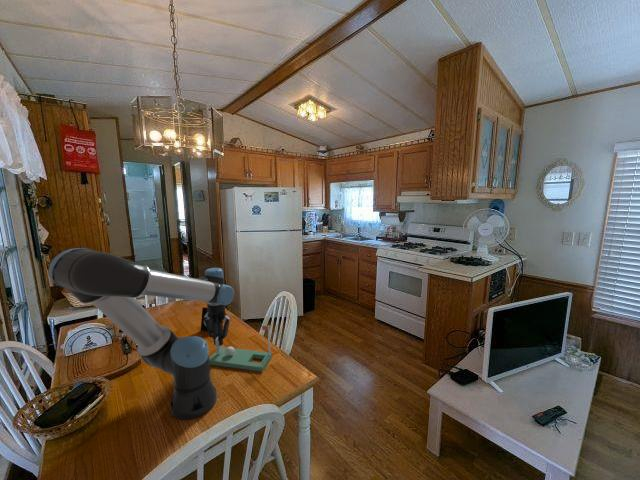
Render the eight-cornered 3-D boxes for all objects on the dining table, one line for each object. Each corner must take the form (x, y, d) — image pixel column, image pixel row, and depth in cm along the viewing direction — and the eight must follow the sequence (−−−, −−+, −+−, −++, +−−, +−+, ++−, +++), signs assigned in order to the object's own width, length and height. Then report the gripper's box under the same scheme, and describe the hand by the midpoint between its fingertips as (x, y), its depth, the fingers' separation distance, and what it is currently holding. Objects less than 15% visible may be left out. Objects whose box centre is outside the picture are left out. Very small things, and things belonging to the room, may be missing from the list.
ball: (232, 358, 122) (231, 350, 121) (223, 357, 123) (223, 349, 122) (236, 353, 126) (236, 345, 125) (228, 352, 127) (228, 344, 126)
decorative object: (207, 328, 158) (223, 329, 157) (197, 332, 147) (215, 333, 146) (209, 305, 159) (225, 306, 158) (199, 308, 149) (217, 308, 148)
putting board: (262, 371, 116) (261, 336, 113) (207, 364, 121) (205, 330, 118) (272, 356, 126) (271, 324, 124) (221, 350, 131) (219, 319, 129)
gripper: (233, 300, 124) (236, 348, 127) (207, 298, 126) (210, 345, 130) (225, 307, 116) (228, 357, 120) (197, 304, 119) (201, 354, 122)
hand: (219, 351), depth 125 cm, fingers closed
